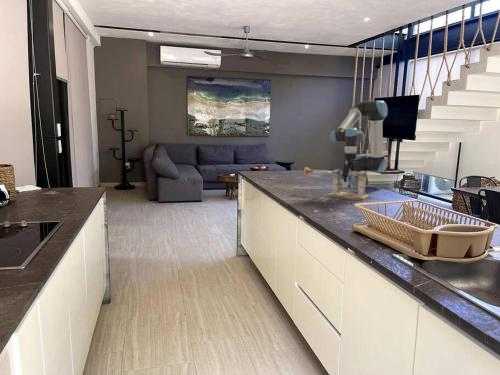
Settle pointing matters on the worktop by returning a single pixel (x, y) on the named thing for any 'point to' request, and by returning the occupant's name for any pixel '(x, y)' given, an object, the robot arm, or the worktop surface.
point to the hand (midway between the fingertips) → (348, 185)
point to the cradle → (345, 195)
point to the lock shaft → (316, 171)
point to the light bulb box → (350, 179)
